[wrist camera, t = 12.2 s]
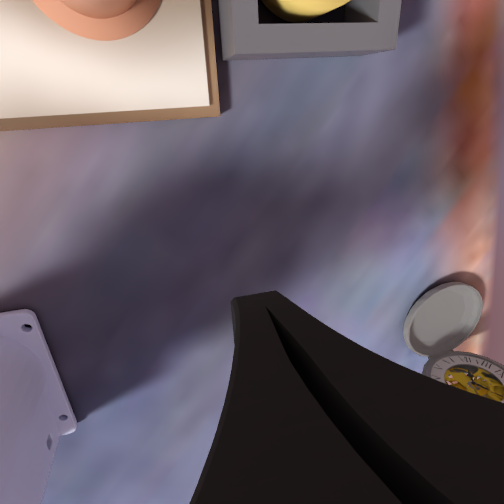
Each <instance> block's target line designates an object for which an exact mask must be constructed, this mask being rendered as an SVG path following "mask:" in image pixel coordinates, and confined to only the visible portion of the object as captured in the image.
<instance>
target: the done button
mask: <svg viewBox="0 0 504 504" xmlns="http://www.w3.org/2000/svg"><path fill="white" fill-rule="evenodd" d="M262 1H263V3H264V4H265V6H266V7H267V8H268V9H269V10H270V11H271V12H272V13H274V14H275V15H276V16H278V17H280V18H281V19H284V20H286V21H290V22H306V21H309V20H312V19H314V18H316V17H318V16H321V15H323V14H325V13H327V12H329V11H331V10H333V9H335V8H338V7H340V6H342V5H344V4H346V3H347V2H349V1H350V0H262Z"/></svg>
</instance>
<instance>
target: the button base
mask: <svg viewBox="0 0 504 504" xmlns="http://www.w3.org/2000/svg"><path fill="white" fill-rule="evenodd" d="M401 1H402V0H350V1H349V2H347V3H346V4H345V20H344V23H293V24H258V0H218V10H219V23H220V37H221V50H222V60H251V59H280V58H309V57H338V56H361V55H367V54H373V53H378V52H384V51H389V50H395V49H396V44H397V36H398V27H399V18H400V10H401Z"/></svg>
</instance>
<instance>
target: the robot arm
mask: <svg viewBox="0 0 504 504" xmlns="http://www.w3.org/2000/svg"><path fill="white" fill-rule="evenodd" d="M231 309H232V321H233V332H234V344H235V348H234V355H233V363H232V370H231V375H230V381H229V385H228V390H227V394H226V398H225V403H224V406H223V410H222V413H221V417H220V420H219V424H218V428H217V431H216V434H215V437H214V440H213V443H212V446H211V449H210V452H209V454H208V457H207V460H206V462H205V465H204V468H203V471H202V473H201V476H200V479H199V481H198V484H197V487H196V489H195V492H194V494H193V497H192V499H191V501H190V504H504V403H502V402H499V401H495V400H492V399H489V398H486V397H483V396H480V395H477V394H474V393H471V392H468V391H465V390H462V389H459V388H456V387H454V386H451V385H448V384H445V383H443V382H440V381H438V380H435V379H433V378H430V377H428V376H425V375H422V374H420V373H417V372H415V371H413V370H410V369H408V368H406V367H403V366H401V365H399V364H397V363H395V362H392V361H390V360H388V359H386V358H384V357H382V356H380V355H378V354H376V353H374V352H372V351H370V350H368V349H366V348H364V347H362V346H360V345H359V344H357V343H355V342H353V341H352V340H350V339H348V338H346V337H345V336H343V335H341V334H339V333H338V332H336V331H335V330H333V329H331V328H330V327H328V326H327V325H325V324H323V323H322V322H320V321H319V320H317V319H316V318H314V317H313V316H311V315H310V314H309V313H307V312H306V311H304V310H303V309H301V308H300V307H298V306H297V305H296V304H294V303H293V302H291V301H290V300H289V299H287V298H286V297H284V296H283V295H282V294H280V293H279V292H277V291H270V292H264V293H259V294H253V295H247V296H242V297H236V298H234V299H233V300H232V301H231ZM24 324H29V325H31V326H32V327H31V328H28V327H25V326H24ZM63 415H66V416H63ZM76 427H77V421H76V418H75V415H74V413H73V410H72V408H71V405H70V402H69V400H68V397H67V395H66V392H65V389H64V387H63V384H62V382H61V379H60V376H59V374H58V371H57V369H56V366H55V363H54V361H53V358H52V356H51V353H50V350H49V348H48V345H47V343H46V340H45V337H44V335H43V332H42V330H41V327H40V324H39V322H38V319H37V317H36V315H35V313H34V312H33V311H31V310H28V309H21V310H15V311H9V312H3V313H0V504H41V501H42V498H43V494H44V490H45V487H46V483H47V480H48V476H49V473H50V469H51V465H52V462H53V458H54V455H55V451H56V448H57V444H58V440H59V437H60V436H61V435H65V434H69V433H72V432H74V431H75V430H76Z"/></svg>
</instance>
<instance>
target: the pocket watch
mask: <svg viewBox="0 0 504 504" xmlns="http://www.w3.org/2000/svg"><path fill="white" fill-rule="evenodd" d="M482 309H483V301H482V297H481V295H480V293H479V292H478V291H477V290H476V289H475V288H474V287H473V286H471V285H468V284H466V283H462V282H449V283H444V284H441V285H439V286H437V287H435V288H433V289H431V290H429V291H427V292H426V293H425V294H424V295H423V296H422V297H421V298H419V299H418V300H417V302H416V303H415V304H414V305H413V306H412V308H411V309H410V311H409V313H408V315H407V317H406V319H405V323H404V328H403V335H404V340H405V342H406V344H407V345H408V347H409V348H410V349H411V350H412V351H413V352H414V353H416V354H418V355H420V356H428V358H429V360H428V361H427V363H426V364H425V365H424V368H423V372H422V375H425V376H428V377H430V378H433V379H435V380H438V381H440V382H443V383H445V384H448V383H447V382H446V381H449V382H450V383H452V382H453V381H457V382H458V383H457V384H453V383H452V384H453V385H451V386H454V387H456V386H457V388H459V389H462V390H465V391H468V392H471V393H474V394H477V395H480V396H483V397H486V398H489V399H492V400H495V401H499V402H502V403H504V366H503V365H502V364H500V363H498V362H496V361H494V360H491V359H490V358H488V357H485V356H481V355H477V354H473V353H470V352H460V351H453V350H452V349H454V348H456V347H457V346H458V345H460V344H461V343H462V342H463V341H465V339H466V338H467V337H468V336H469V335H470V334H471V333H472V332H473V330H474V329H475V327H476V325H477V323H478V321H479V320H480V317H481V313H482ZM465 374H467V376H466V375H465ZM450 375H452V376H453V378H452V379H451V378H449V377H448V376H450ZM473 377H475V378H474V380H473ZM477 377H480V378H479V379H478V380H477ZM482 380H486V381H482ZM468 385H469V386H468Z"/></svg>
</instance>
